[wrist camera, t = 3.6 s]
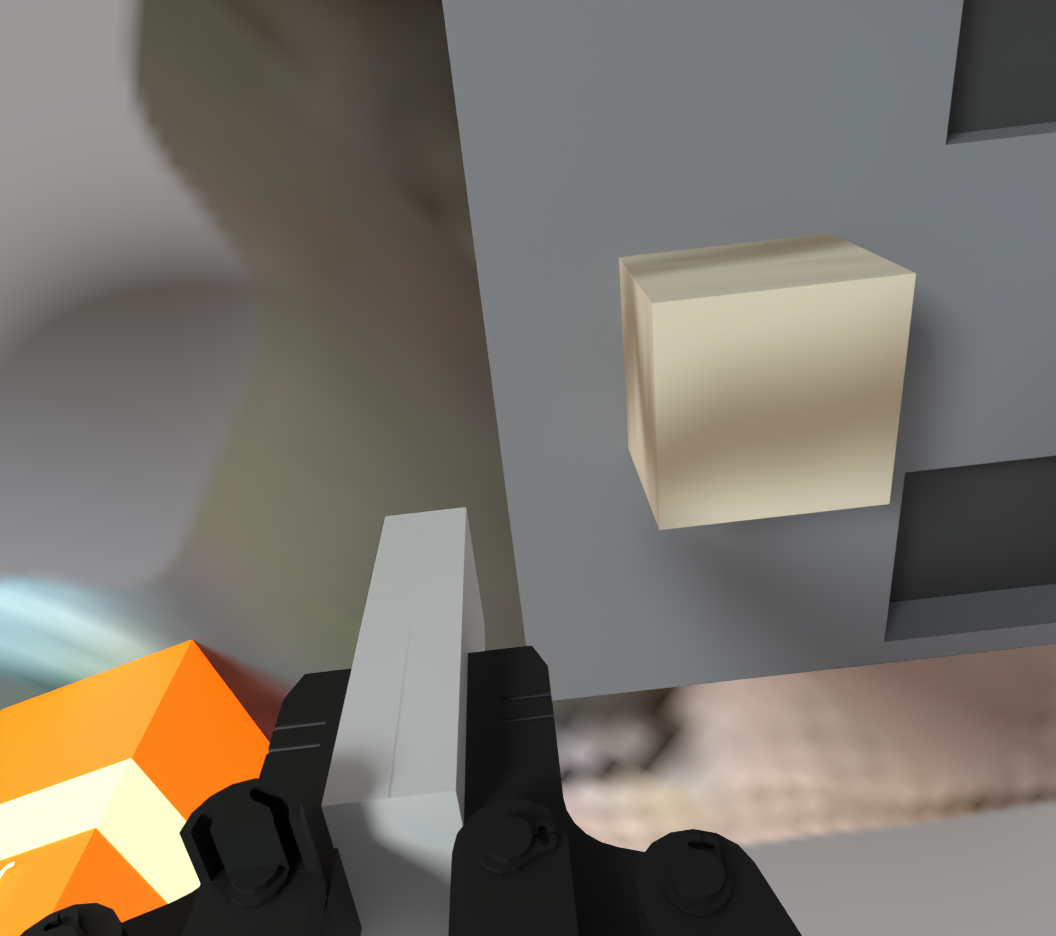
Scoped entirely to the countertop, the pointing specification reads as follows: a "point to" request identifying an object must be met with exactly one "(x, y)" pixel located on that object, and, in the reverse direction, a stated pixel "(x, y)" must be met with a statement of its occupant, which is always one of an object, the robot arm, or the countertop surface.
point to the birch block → (763, 377)
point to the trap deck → (757, 215)
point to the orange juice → (115, 785)
